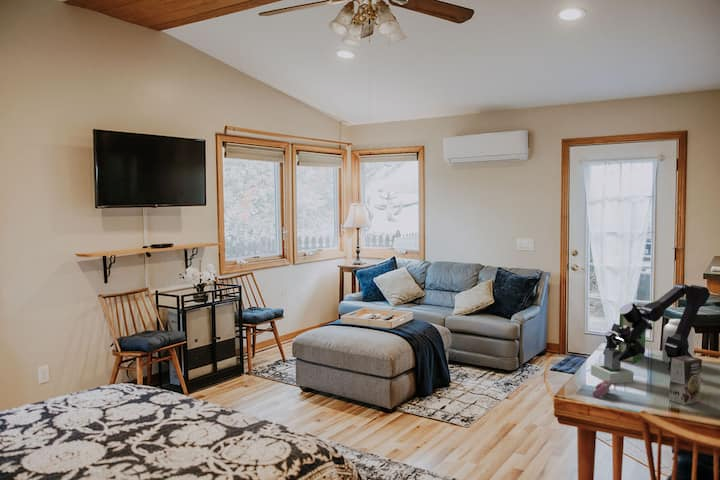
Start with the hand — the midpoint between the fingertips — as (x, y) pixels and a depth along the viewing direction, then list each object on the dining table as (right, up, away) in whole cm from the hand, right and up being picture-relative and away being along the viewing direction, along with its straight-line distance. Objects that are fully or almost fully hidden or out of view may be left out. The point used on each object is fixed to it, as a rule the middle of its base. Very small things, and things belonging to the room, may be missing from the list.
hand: (611, 357), depth 229 cm
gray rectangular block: (0, -9, +1) cm, 9 cm away
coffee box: (+16, -11, -25) cm, 32 cm away
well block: (0, -9, +1) cm, 9 cm away
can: (+42, -8, +25) cm, 49 cm away
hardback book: (+24, -7, +31) cm, 40 cm away
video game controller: (-12, -10, -19) cm, 25 cm away
